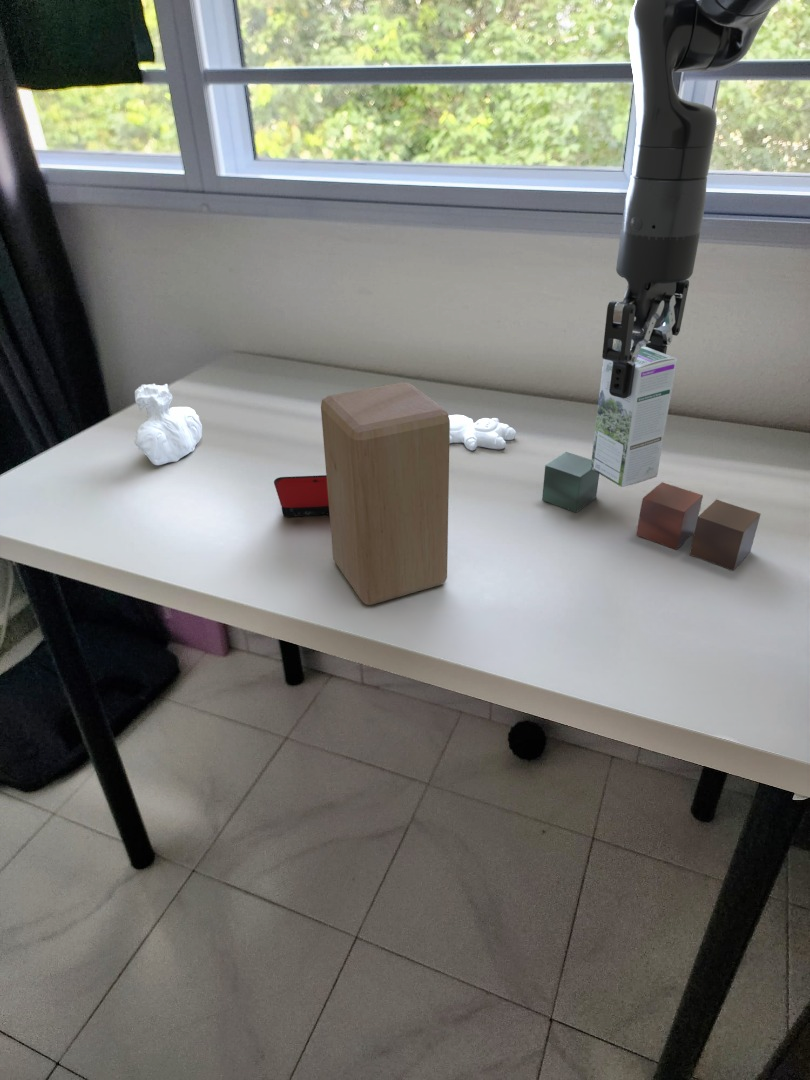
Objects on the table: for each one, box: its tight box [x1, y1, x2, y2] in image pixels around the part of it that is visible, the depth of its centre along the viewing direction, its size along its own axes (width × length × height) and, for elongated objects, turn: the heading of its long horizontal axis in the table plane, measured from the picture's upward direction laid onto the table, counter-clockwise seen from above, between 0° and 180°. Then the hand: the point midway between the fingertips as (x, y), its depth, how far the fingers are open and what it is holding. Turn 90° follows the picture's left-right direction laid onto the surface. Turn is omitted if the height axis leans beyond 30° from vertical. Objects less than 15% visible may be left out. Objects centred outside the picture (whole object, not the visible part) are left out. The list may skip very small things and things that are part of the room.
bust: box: [134, 383, 203, 466], centre depth 107 cm, size 12×8×11 cm
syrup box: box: [590, 345, 678, 488], centre depth 85 cm, size 6×6×14 cm
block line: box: [541, 451, 762, 571], centre depth 89 cm, size 24×5×5 cm, turn 49°
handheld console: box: [273, 474, 330, 518], centre depth 93 cm, size 12×11×7 cm
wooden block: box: [320, 381, 450, 606], centre depth 77 cm, size 10×10×20 cm
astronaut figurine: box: [448, 414, 517, 451], centre depth 111 cm, size 9×12×3 cm
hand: (636, 385), depth 83 cm, fingers closed on syrup box, 7 cm apart
